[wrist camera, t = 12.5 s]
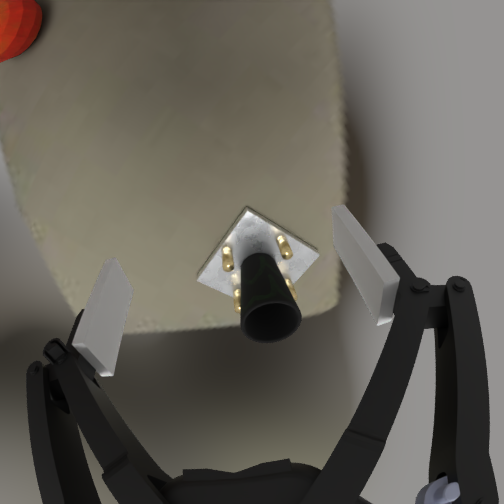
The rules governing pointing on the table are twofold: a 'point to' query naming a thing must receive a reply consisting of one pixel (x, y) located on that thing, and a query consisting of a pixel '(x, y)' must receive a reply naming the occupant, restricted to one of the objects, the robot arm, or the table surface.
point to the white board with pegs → (250, 242)
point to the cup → (266, 301)
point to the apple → (18, 26)
